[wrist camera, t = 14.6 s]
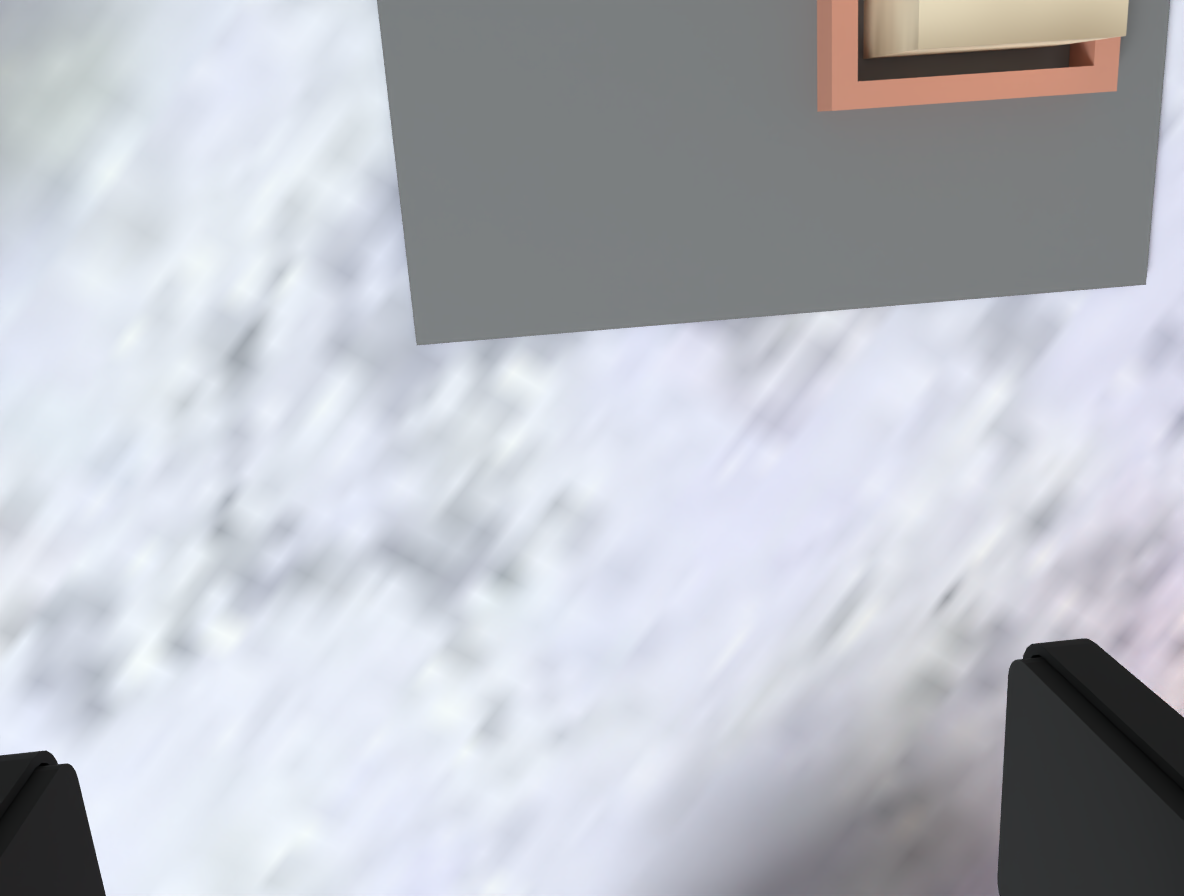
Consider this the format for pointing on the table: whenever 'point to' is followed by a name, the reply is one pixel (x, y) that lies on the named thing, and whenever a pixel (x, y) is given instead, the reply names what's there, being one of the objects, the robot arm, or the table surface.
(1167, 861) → the robot arm
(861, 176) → the mat
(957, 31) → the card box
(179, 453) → the table surface
